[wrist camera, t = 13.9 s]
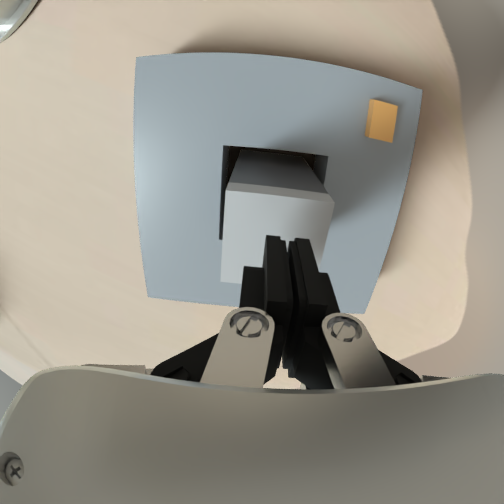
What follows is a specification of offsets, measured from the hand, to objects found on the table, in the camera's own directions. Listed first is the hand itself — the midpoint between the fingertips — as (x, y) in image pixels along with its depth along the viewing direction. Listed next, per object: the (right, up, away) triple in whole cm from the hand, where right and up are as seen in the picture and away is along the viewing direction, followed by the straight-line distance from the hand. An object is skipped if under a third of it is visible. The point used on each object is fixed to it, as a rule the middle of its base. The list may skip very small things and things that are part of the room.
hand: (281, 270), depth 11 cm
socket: (0, +6, +10) cm, 12 cm away
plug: (0, +6, +10) cm, 12 cm away
